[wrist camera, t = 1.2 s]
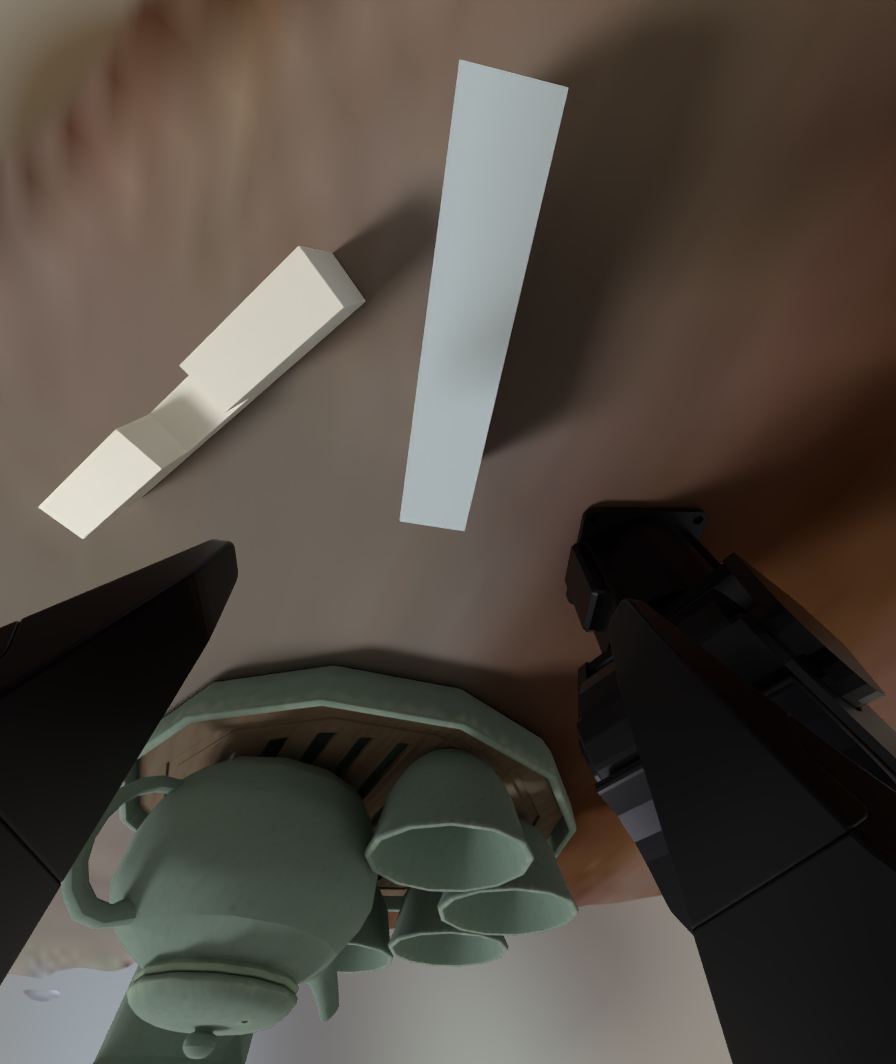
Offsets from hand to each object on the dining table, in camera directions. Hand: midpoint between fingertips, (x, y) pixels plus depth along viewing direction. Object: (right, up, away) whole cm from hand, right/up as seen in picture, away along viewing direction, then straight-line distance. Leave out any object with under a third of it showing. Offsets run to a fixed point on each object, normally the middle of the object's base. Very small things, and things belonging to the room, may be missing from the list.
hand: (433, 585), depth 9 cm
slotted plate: (+1, +10, +8) cm, 12 cm away
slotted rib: (-10, +8, +9) cm, 16 cm away
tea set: (-8, -24, +30) cm, 39 cm away
